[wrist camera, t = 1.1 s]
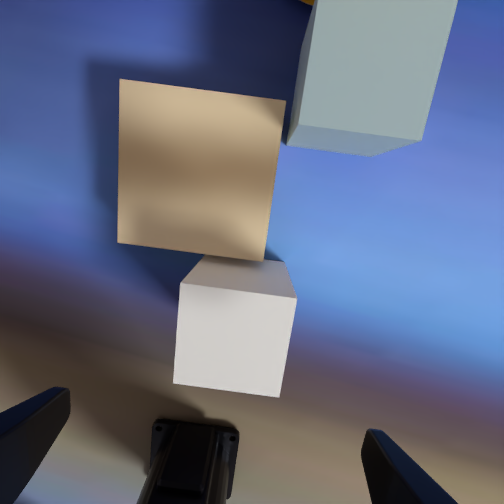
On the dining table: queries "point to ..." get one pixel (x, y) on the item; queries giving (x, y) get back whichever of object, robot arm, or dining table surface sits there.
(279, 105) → the beech slab
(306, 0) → the beer can
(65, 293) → the dining table surface
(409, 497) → the robot arm
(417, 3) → the teal grey cube
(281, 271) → the white block
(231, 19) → the dining table surface
